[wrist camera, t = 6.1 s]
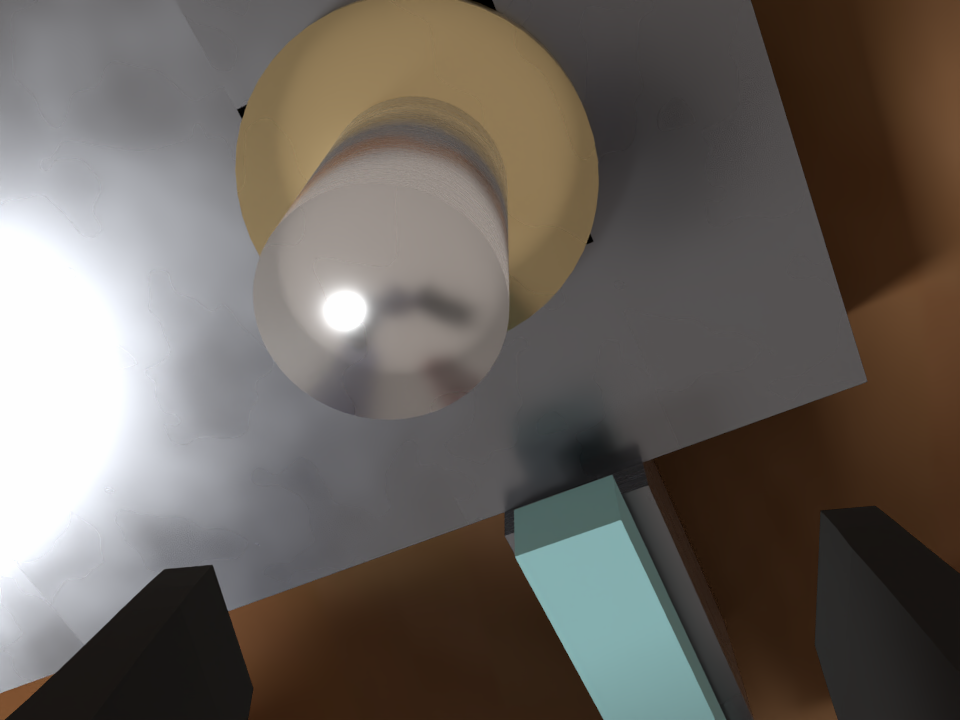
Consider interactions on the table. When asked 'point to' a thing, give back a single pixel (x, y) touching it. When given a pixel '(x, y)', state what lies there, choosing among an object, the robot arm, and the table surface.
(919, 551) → the robot arm
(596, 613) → the locking bolt
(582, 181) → the gold disc with post
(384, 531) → the block
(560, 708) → the table surface
